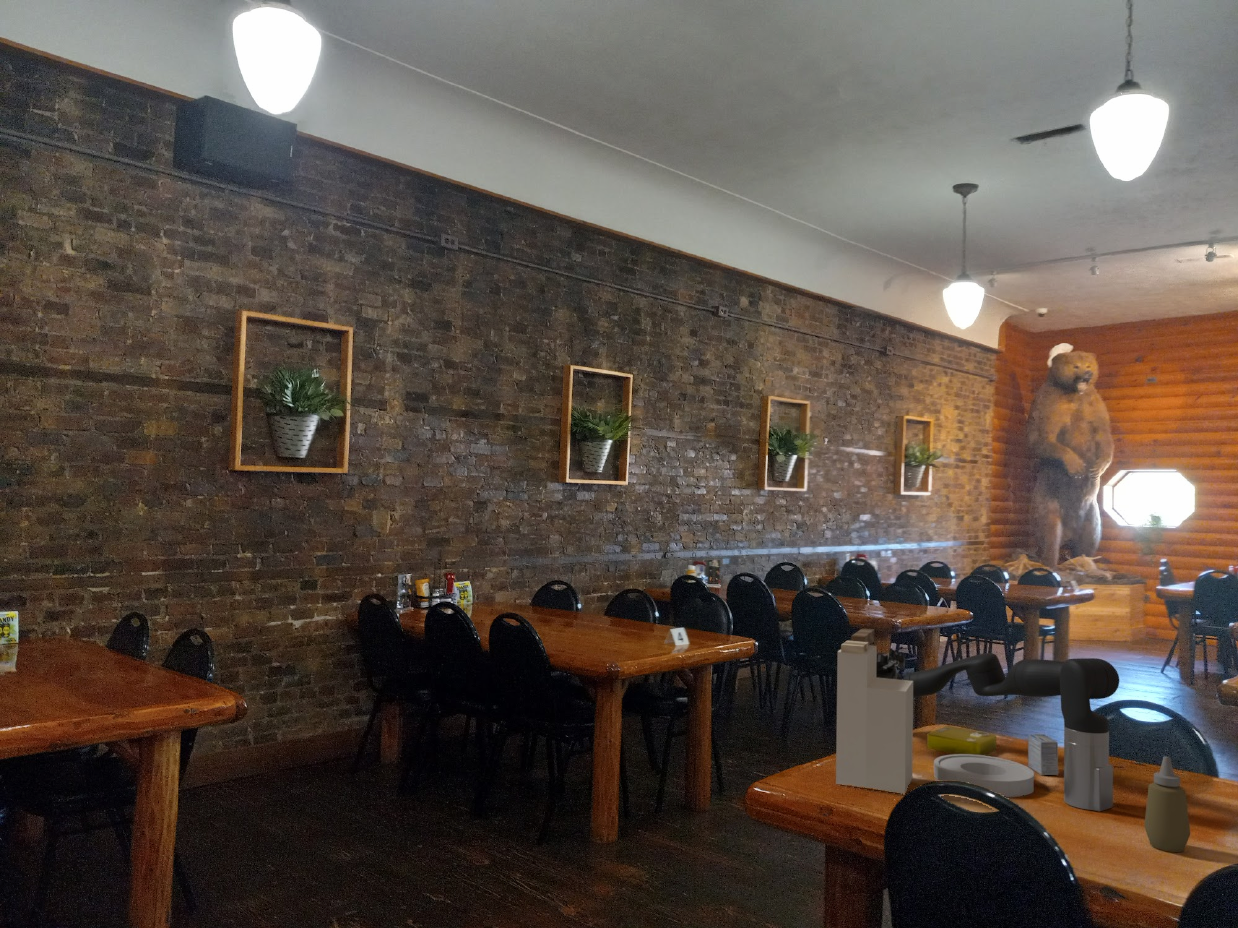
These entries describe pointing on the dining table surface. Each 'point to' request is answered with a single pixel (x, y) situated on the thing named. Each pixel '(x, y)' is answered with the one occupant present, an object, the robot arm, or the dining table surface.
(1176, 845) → the squeeze bottle
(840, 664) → the display stand
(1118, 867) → the dining table surface
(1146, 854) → the dining table surface
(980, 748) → the element tile
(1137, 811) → the dining table surface
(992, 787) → the ashtray
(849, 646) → the brown bar
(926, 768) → the dining table surface
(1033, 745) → the medicine box
